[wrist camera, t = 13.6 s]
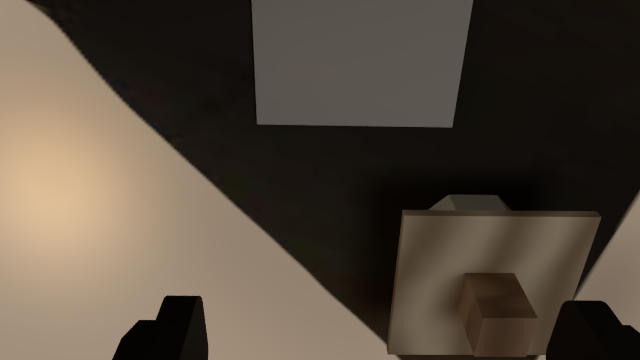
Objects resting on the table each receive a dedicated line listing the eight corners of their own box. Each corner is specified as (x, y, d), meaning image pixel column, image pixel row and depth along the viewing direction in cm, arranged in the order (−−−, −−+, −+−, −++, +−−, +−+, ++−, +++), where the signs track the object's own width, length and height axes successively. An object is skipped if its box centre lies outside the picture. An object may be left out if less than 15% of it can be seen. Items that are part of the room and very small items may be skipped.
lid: (596, 211, 39) (638, 258, 34) (549, 348, 46) (578, 403, 41) (402, 209, 39) (416, 257, 33) (386, 347, 46) (395, 403, 41)
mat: (486, -95, 34) (488, -95, 33) (450, 125, 42) (452, 127, 41) (247, -101, 33) (247, -101, 33) (257, 122, 41) (257, 124, 41)
